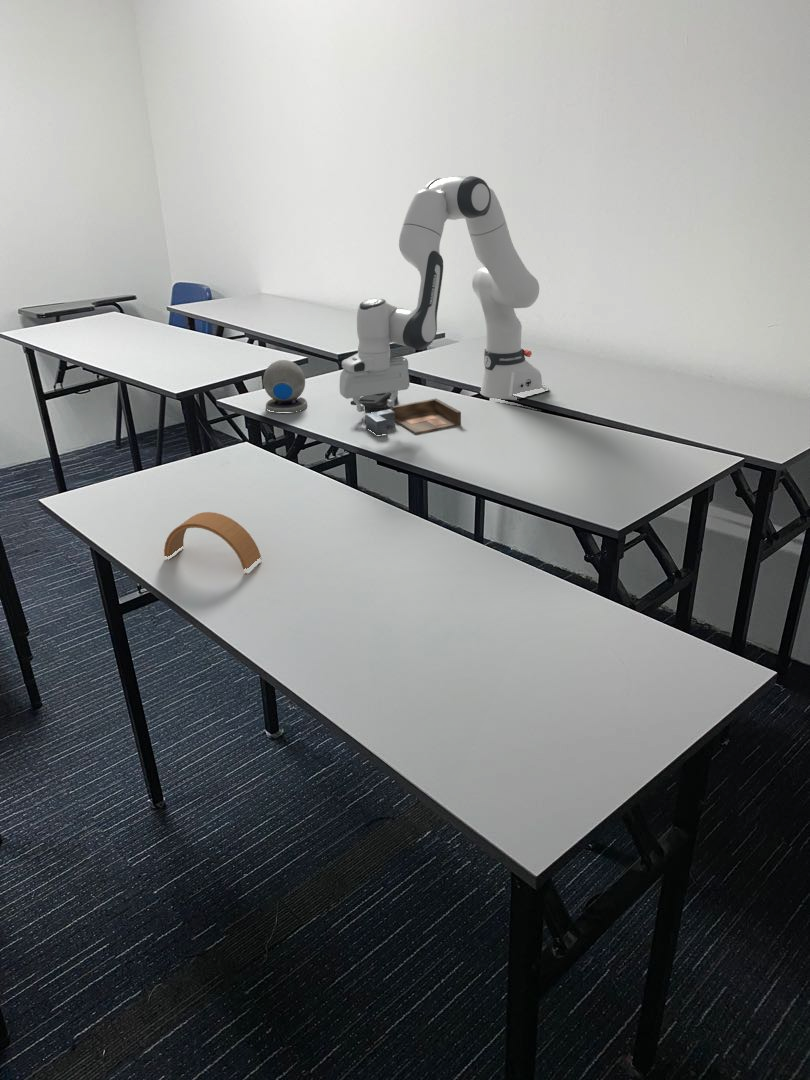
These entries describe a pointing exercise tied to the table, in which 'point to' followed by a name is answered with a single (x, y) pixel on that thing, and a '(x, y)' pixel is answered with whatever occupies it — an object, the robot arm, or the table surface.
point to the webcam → (284, 387)
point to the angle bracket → (380, 421)
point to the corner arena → (426, 416)
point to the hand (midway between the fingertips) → (375, 408)
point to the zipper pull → (376, 402)
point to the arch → (222, 528)
